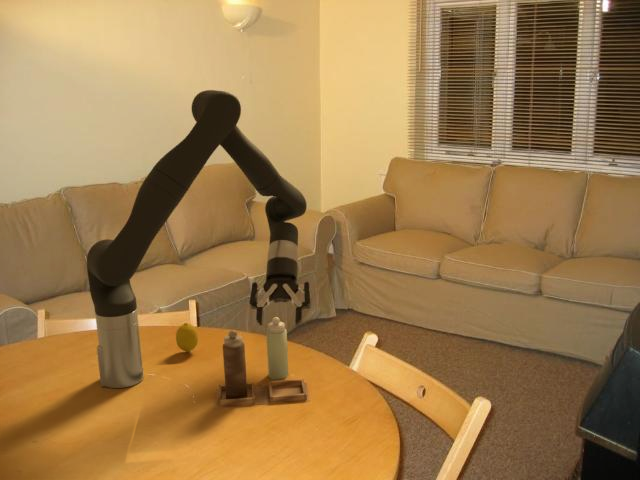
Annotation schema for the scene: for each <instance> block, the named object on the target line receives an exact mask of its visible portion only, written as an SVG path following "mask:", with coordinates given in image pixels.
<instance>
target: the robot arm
mask: <svg viewBox="0 0 640 480" xmlns="http://www.w3.org/2000/svg"><path fill="white" fill-rule="evenodd" d="M241 112H242V106H241V102H240V101H239V99H238V97H237V96H236V95H234V94H233V93H231V92H229V91H223V90H217V89H216V90H215V89H207V90H203V91H200V92H199V93H198V94H196V95H195V96H194V98H193V100H192V103H191V115H192V117H193V119H194V121H195V124H194V125H193V127H192V129H191V130H190V131H189V133H188V134H186V136H185V137H184V138H183V139H182V140H181V141H180V142H179V143H178V144H176V145H175V146H174V147H173V148H171V149H170V150H169V151H167V153H165V155H163V156H162V157H161V158H160V159H159V160H158V161H157V162H156V163H155V165H154V166H153V167H152V168H151V170H150V171H149V173H148V174H147V176H146V177H145V179H144V181H143V182H142V183H141V185H140V187H139V190H138V191H137V194H136V197H135V199H134V203H133V204H132V205H133V206H132V209H131V211H130V215H129V217H128V219H127V220H126V222H125V224H124V226H122V229H121V230H120V231H119V233H118V234H117V235H116V236H115V238H114V239H109V238H108V239H105V238H104V239H101V240H99V241H97V242H95V243H94V244H93V245H92V246H91V247H90V248H89V251H88V253H87V257H86V269H87V271H86V272H87V277H88V284H89V285H88V286H89V292H90V298H91V301H92V303H93V307H94V313H95V321H96V322H95V324H96V332H97V340H98V344H97V347H96V353H97V354H96V355H97V362H98V372H99V379H100V386H101V387H108V388H110V389H111V388H112V389H123V388H129V387H132V386H135V385H137V384H139V383H141V382H142V381H143V379H144V368H143V358H142V357H143V356H142V348H141V345H142V344H141V337H140V324H139V318H138V306H137V298H136V297H137V296H135V293H134V290H133V288H132V284H131V279H132V278H133V277H134V275H135V274H136V272H137V270H138V268H139V267H140V264H142V261H143V259H144V258H145V255H146V254H147V252H148V250H149V248H150V246H151V244H152V243H153V241H154V240H155V237H157V235H158V234H159V233H160V231H161V229H162V228H163V226H164V225H165V224H166V223H167V221H168V219H169V218H170V216H171V215H172V214H173V212H174V211H175V209H176V208H177V207H178V205H179V204H180V203H181V201H182V200H183V198H184V196H185V195H186V194H187V193H188V191H189V190H190V187H191V186H192V184H194V181H195V180H196V178H197V177H198V175H199V174H200V173H201V171H202V170H203V168H204V167H205V165H206V164H207V163H208V160H209V159H210V157H211V156H212V155H213V154H214V152H215V151H216V150H217V148H218V147H219V146H221V148H222V149H223V150H224V151H225V152H226V153H227V154H228V156H229V157H230V158H231V159H232V160H233V162H234V163H235V164H236V165H237V167H238V168H239V169H240V170H241V172H242V173H243V174H244V175H245V177H246V178H247V180H248V181H249V183H250V184H251V185H252V187H253V188H254V189H255V190H256V192H257V193H258V194H259V196H262V197H270V198H268V200H267V202H266V203H265V207H264V211H265V216H266V218H267V223H268V229H269V235H270V236H269V242H268V245H269V246H268V251H267V258H266V259H267V262H266V273H265V274H266V275H265V282H264V284H263V283H262V284H258V282H257V281H254V282H252V283H251V290H250V298H249V305H250V308H251V309H252V310H256V318H255V320H256V322H257V324H258V325H259V326H263V325H264V317H265V316H264V315H265V311H264V310H265V309H266V307H268V306H270V304H271V303H272V302H273V303H281V302H282V303H288V302H289V301H290V302H291V304H292V305H293V306H294V307H295V321H294V323H295V326H300V324H302V322H303V311H304V310H306V309H307V310H309V309H310V308H311V286H310V283H309V281H305V282H304V283H298V271H299V270H298V269H299V249H298V248H299V247H298V245H299V231H298V227H297V226H296V225H295V224H294V223H291V222H288V221H290V220H293V219H297V218H299V217H302V216H304V214H305V213H306V210H307V209H308V208H307V205H308V204H307V199H306V198H305V196H304V195H303V193H302V192H301V191H300V190H299V189H298V188H297V187H296V186H294V185H293V184H291V183H290V182H289V181H288V180H287V179H285V178H284V177H283V176H282V175H281V174H280V173H279V171H278V170H277V169H276V168H275V166H274V165H273V164H272V162H271V160H270V159H269V158H268V156H267V155H265V154H264V152H263V151H262V150H261V149H260V148H259V147H257V145H255V144H254V143H253V142H252V141H251V140H250V139H249V138H248V137H247V136H246V135H245V134H244V133H243V132H242V131H241V129H240V128H239V127H238V126H237V124H238V123H239V120H240V118H241V114H242V113H241ZM262 291H264V292H265V293H264V294H263V295H262V298H261V299H260V300H259V301H258V296H259V294H260V293H262ZM299 291H301V293H302V294H304V301H302V302H301V301H300V299H299V298H298V296H297V295H296V294H297V293H298V292H299Z"/></svg>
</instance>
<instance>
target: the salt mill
mask: <svg viewBox="0 0 640 480" xmlns="http://www.w3.org/2000/svg"><path fill="white" fill-rule="evenodd" d="M285 327H286V326H285V322H283V321H281V319H280V318H279V317H277V316H275V317H273V318H272V320H271V321H270V322H269V323H267V330H266V331H265V332H266V334H265V335H266V350H267V351H266V354H267V370H268V371H267V372H268V378H269V379H272V380H275V381H280V380H285V379H287V378H288V377H289V358H288V357H289V354H288V333H287V329H286V328H285Z"/></svg>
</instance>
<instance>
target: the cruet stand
mask: <svg viewBox="0 0 640 480" xmlns="http://www.w3.org/2000/svg"><path fill="white" fill-rule="evenodd" d="M299 402H300V403H302V402H304V403H305V402H311V399H310V393H309V388H308V383H307V382H305V379H304V378H297V379H286V380H285V379H281V380H271V381H270V380H269V381H268V385H267V384H266V385H255V382H247V398H237V399H226V389H225V384H219V385H218V388H216V393H215V404H214V405H215V407H214V409H223V408H225V409H226V408H234V407H235V408H237V407H248V406H249V407H250V406H261V405H262V406H263V405H264V406H265V405H274V404H287V403H288V404H289V403H299Z"/></svg>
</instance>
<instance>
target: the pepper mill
mask: <svg viewBox="0 0 640 480" xmlns="http://www.w3.org/2000/svg"><path fill="white" fill-rule="evenodd" d="M223 342H224V343H223V344H222V355H223V369H224V370H223V371H224V382H225V383H224V385H225V389H226V399H237V398H247V383H248V382H247V381H248V380H247V366H246V363H247V362H246V350H245V348H246V346H245V343H244V341H243V336H242V335H241V334H238V332H237V331H236V330H235V329H231V330H229V332H228V335H226V336H225V337H224V338H223Z"/></svg>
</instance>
